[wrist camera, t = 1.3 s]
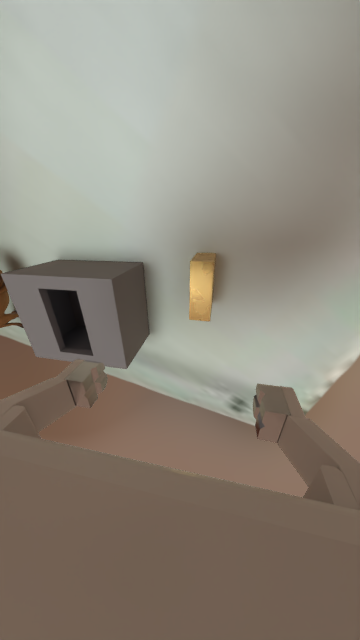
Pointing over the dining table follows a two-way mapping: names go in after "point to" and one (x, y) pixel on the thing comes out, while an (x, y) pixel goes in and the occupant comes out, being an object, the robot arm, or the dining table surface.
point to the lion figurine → (0, 304)
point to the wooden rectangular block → (201, 286)
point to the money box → (82, 309)
